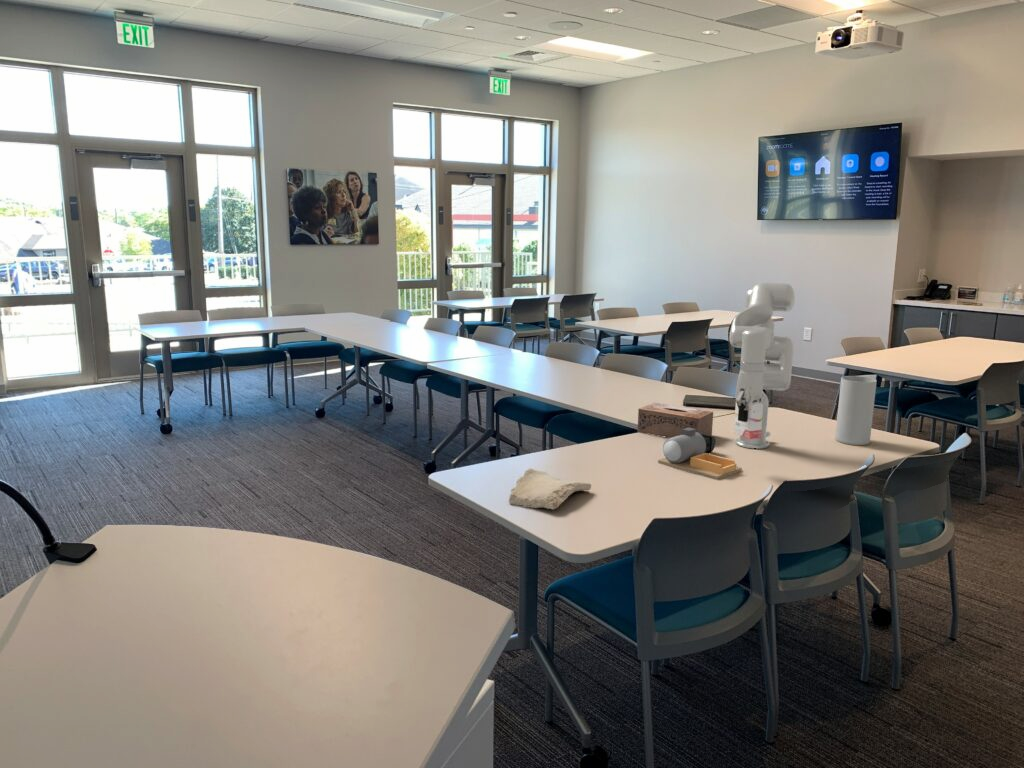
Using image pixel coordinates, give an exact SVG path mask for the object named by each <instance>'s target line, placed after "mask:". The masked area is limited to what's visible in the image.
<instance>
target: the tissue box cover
mask: <svg viewBox="0 0 1024 768" xmlns="http://www.w3.org/2000/svg"><path fill="white" fill-rule="evenodd" d="M637 411H638V412H637V415H638V416H637V433H641V434H642V433H643V434H646V433H650V434H649V435H651V434H655V435H654V436H657V435H659V436H658V437H662V436H665V437H664V438H668V437H670V438H672V437H676V436H679V435H682V429H685V428H688V427H689V428H694V429H696V432H698V433H700V434H704V435H709V436H710V435H711V436H713V425H714V424H713V421H714V411H711V410H704V409H699V408H693V407H692V408H691V407H688V406H687V407H686V406H685V407H684V406H679V405H673V404H668V403H667V404H665V403H660V402H653V403H650V404H647V405H645V406H642V407H639V408H638V410H637Z"/></svg>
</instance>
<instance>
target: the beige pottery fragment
mask: <svg viewBox="0 0 1024 768" xmlns="http://www.w3.org/2000/svg"><path fill="white" fill-rule="evenodd" d="M591 489H592V484H591V483H590V482H585V481H577V480H568V479H564V478H558V477H557V476H554V475H551V474H549V473H548V472H547V471H543V470H536V469H534V468H532V467H531V468H528V469H526V470H525V471H524V475H523V476H521V477H519V478H518V479H517V480H516V485H515V486H514V487H512V488H511V490H510V493H509V494H510V495H509V497H508V502H509V504H510V505H513V504H517V505H516V506H519V505H522V506H521V507H524V506H525V507H524V508H529V507H531V508H532V509H538V508H539V509H540V508H544V509H548V510H549V509H550V510H555V509H558V508H559V507H560V505H562V504H563V502H565V500H567V499H568V497H569V496H570V495H572V494H573V493H575V492H582V491H590V490H591Z"/></svg>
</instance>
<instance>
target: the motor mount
mask: <svg viewBox="0 0 1024 768" xmlns="http://www.w3.org/2000/svg"><path fill="white" fill-rule="evenodd" d="M705 450H706V442H705V439H704V437H703V436H702V435H701V434H700V433H698V432H696V429H694V428H689V427H688V428H685V429H682V435H679V436H676V437H672V438H667V439H665V441H664V443H663V445H662V451H663V455H664V458H660V459H657V463H658V464H661V465H664V466H667V465H668V467H672V468H674V467H675V469H678V468H679V469H678V470H681V469H682V470H681V471H686V472H688V471H689V472H688V473H692V472H693V473H692V474H695V473H696V475H699V474H700V475H699V476H702V475H703V476H702V477H706V476H707V477H706V478H709V477H710V478H709V479H713V478H714V479H713V480H716V479H718V480H720V479H723V478H725V476H726V477H728V476H731V475H734V474H736V473H739V472H742V471H743V469H742V467H741V466H738V465H737V463H735V461H736V460H733V459H730V458H726V457H723V456H719V455H715V454H711V453H710V454H708V453H704V452H705ZM741 470H742V471H741ZM738 471H739V472H738ZM733 473H734V474H733ZM730 474H731V475H730ZM722 477H723V478H722ZM719 478H720V479H719Z"/></svg>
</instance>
